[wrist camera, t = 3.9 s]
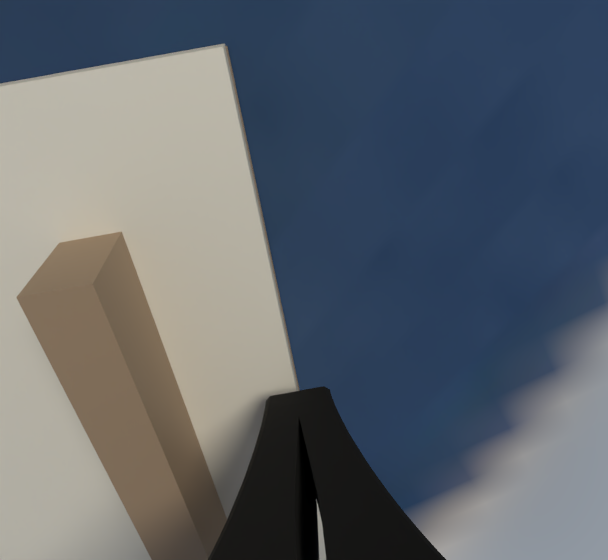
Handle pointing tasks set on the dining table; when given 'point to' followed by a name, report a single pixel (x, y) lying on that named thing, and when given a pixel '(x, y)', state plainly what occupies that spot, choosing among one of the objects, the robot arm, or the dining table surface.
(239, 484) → the mailer lid
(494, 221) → the dining table surface
